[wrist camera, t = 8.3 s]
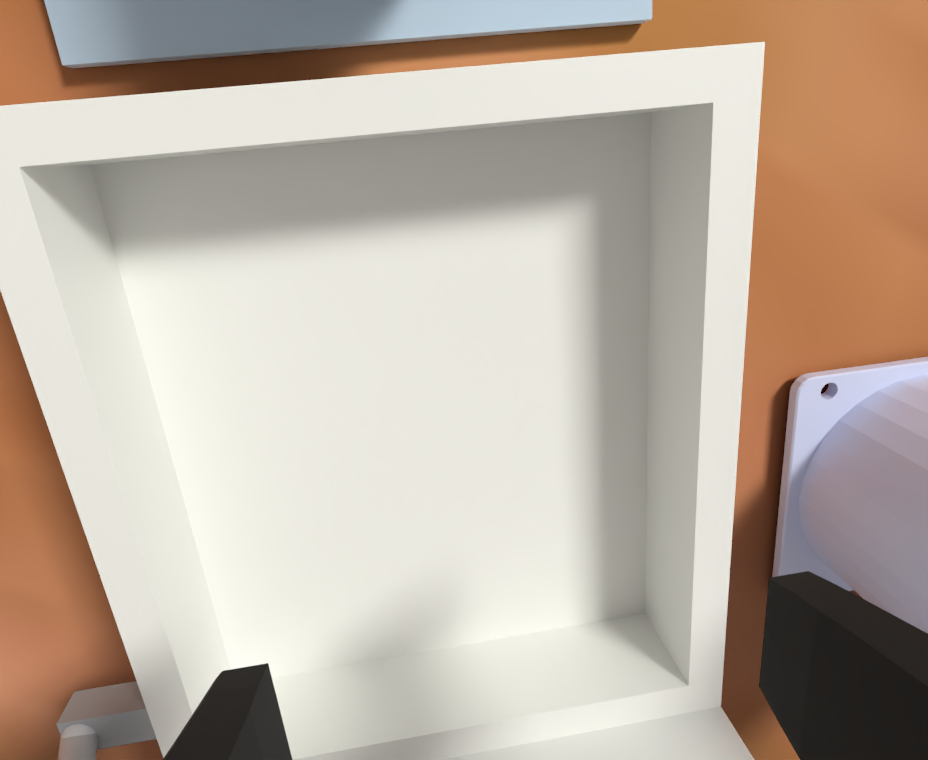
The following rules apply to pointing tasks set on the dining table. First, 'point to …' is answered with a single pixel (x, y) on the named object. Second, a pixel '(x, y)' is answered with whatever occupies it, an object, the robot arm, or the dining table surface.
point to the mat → (301, 24)
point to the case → (402, 396)
